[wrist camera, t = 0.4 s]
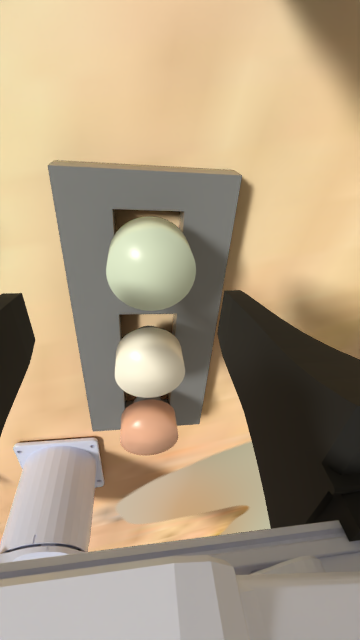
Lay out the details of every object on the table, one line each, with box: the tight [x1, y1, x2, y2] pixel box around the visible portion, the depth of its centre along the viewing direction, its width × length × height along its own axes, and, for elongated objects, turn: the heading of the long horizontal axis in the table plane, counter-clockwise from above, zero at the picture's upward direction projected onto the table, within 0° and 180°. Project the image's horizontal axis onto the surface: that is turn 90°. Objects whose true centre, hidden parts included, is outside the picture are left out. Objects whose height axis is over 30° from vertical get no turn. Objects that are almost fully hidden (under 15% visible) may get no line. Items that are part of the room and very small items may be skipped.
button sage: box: [106, 216, 196, 311], centre depth 16 cm, size 4×4×4 cm
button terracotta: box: [120, 396, 178, 455], centre depth 24 cm, size 4×4×4 cm
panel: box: [48, 160, 242, 431], centre depth 22 cm, size 22×10×2 cm, turn 176°
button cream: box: [115, 326, 185, 398], centre depth 20 cm, size 4×4×4 cm
